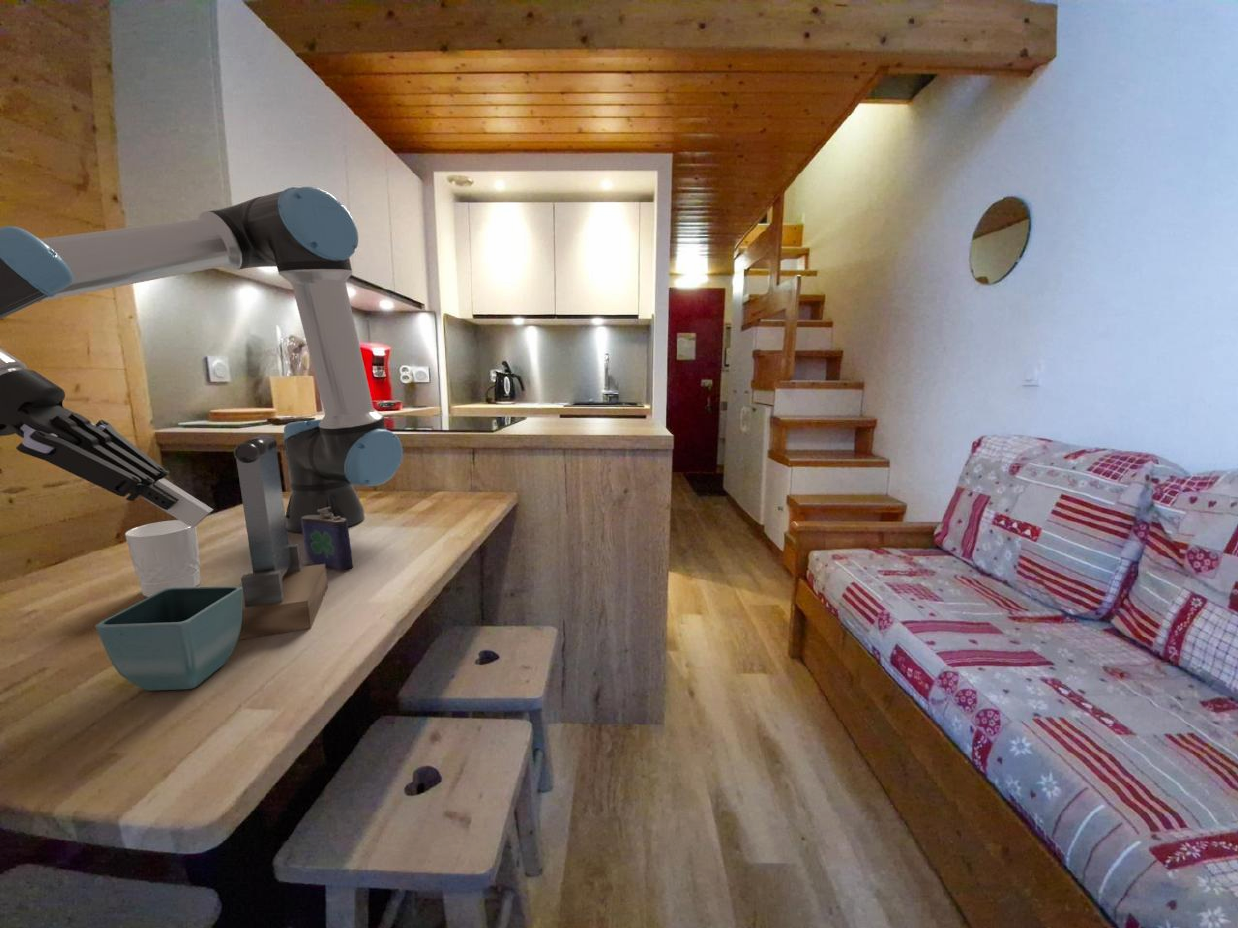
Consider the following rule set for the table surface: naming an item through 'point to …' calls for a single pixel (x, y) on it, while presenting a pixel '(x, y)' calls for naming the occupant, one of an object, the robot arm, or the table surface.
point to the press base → (282, 598)
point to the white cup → (164, 556)
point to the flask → (327, 540)
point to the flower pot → (174, 636)
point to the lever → (263, 504)
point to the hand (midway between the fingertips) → (203, 518)
